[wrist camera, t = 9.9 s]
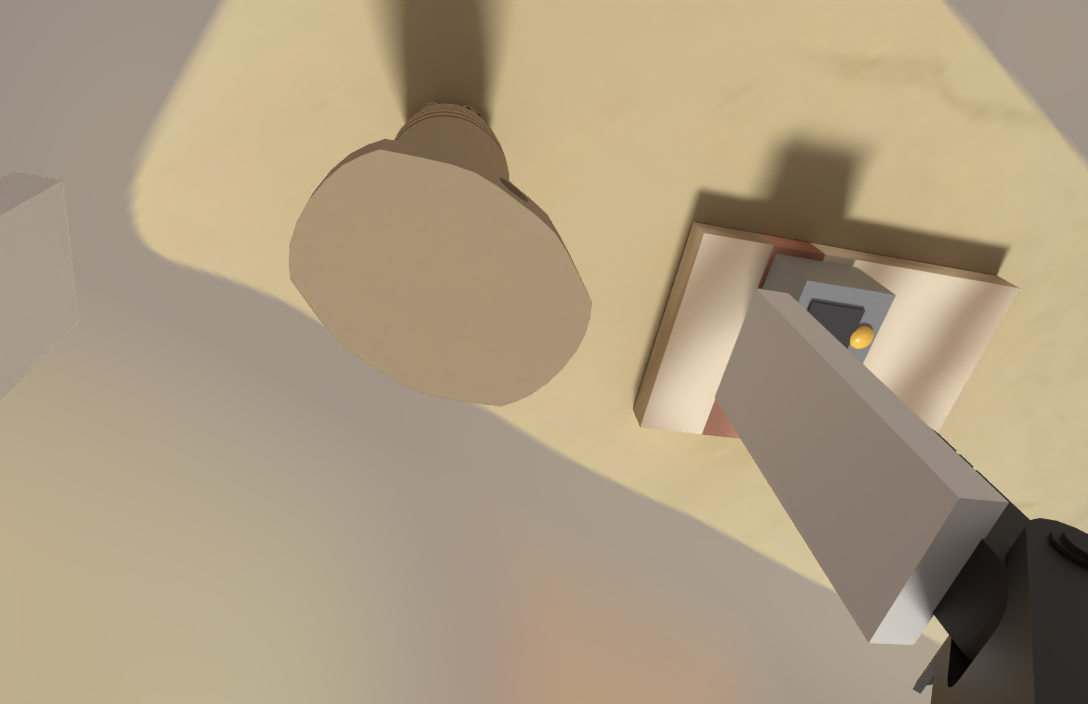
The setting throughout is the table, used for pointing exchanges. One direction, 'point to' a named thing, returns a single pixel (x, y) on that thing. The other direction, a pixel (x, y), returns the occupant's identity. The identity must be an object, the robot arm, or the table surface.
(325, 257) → the handle
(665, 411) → the plank
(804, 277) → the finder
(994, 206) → the table surface
